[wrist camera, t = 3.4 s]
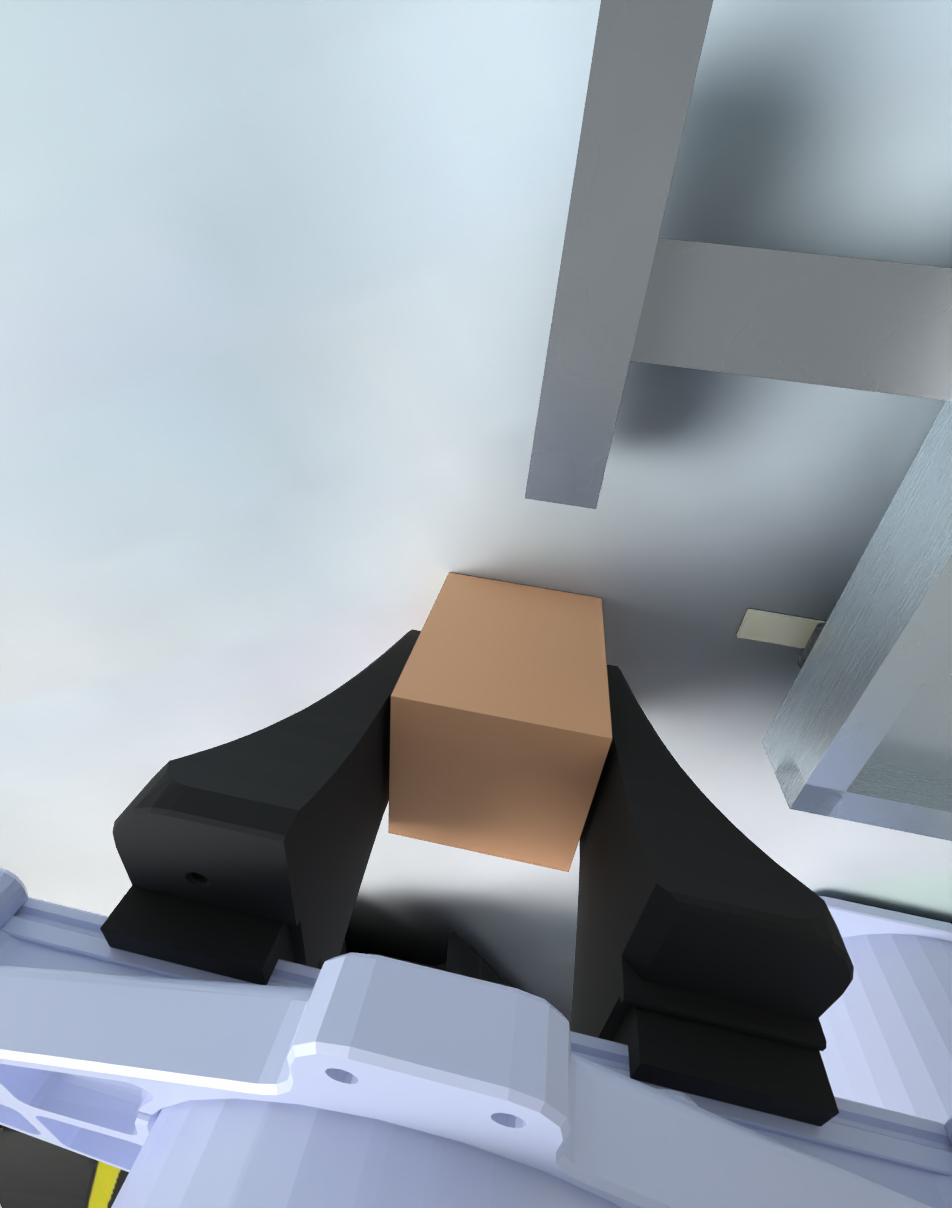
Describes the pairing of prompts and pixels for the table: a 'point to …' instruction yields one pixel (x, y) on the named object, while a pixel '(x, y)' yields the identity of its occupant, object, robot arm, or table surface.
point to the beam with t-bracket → (777, 351)
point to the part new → (501, 722)
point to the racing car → (89, 1187)
